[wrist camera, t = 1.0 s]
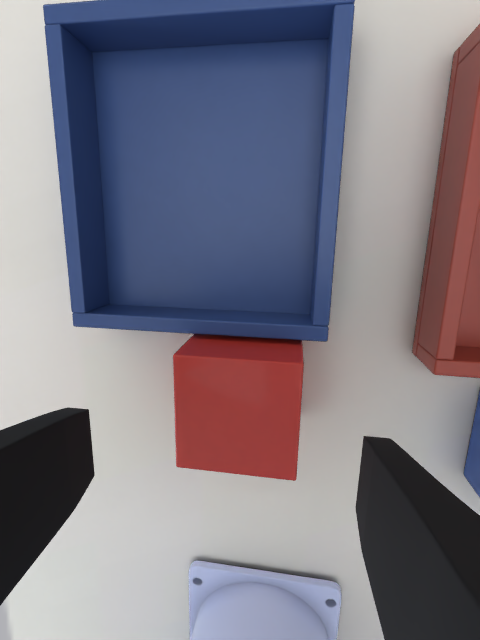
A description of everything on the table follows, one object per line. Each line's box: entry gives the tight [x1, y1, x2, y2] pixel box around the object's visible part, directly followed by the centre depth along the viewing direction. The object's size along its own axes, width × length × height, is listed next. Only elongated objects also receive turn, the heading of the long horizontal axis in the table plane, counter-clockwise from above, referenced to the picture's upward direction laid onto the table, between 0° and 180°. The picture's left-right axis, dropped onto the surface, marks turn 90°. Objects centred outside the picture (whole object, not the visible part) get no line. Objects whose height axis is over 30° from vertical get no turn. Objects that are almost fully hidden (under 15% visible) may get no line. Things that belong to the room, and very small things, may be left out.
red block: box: [173, 334, 304, 481], centre depth 14 cm, size 4×4×4 cm
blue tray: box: [43, 0, 355, 342], centre depth 14 cm, size 11×10×2 cm
